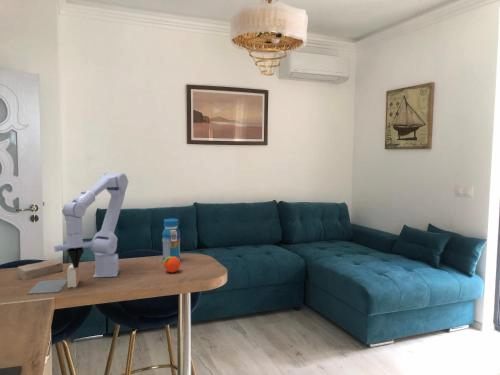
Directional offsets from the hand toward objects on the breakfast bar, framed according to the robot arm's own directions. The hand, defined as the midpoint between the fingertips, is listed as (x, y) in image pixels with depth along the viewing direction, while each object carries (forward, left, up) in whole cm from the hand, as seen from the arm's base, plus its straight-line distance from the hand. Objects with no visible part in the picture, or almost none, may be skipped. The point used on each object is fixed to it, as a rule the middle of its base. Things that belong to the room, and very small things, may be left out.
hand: (75, 267), depth 163 cm
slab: (+1, -2, -8) cm, 8 cm away
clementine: (-37, -12, -8) cm, 39 cm away
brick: (+19, -19, -8) cm, 28 cm away
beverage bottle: (-37, -31, -8) cm, 49 cm away
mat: (+10, 0, -7) cm, 12 cm away
